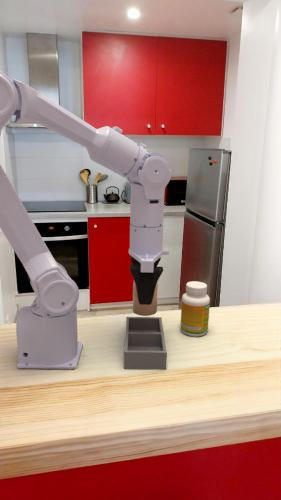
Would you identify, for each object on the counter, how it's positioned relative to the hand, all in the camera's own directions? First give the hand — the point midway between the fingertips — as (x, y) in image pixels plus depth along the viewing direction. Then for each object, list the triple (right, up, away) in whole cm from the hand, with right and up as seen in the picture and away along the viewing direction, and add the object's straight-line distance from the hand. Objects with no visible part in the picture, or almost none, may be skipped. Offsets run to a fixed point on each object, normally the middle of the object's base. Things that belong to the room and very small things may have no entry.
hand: (144, 298), depth 65 cm
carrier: (0, -9, -1) cm, 9 cm away
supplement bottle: (+10, -7, +6) cm, 14 cm away
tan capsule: (0, -2, +1) cm, 2 cm away
